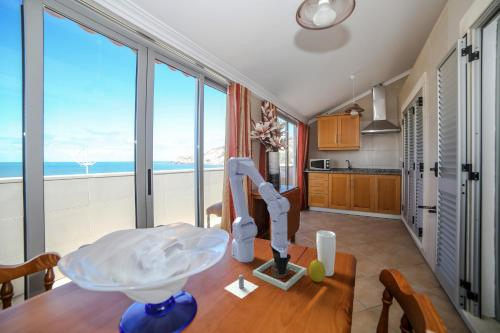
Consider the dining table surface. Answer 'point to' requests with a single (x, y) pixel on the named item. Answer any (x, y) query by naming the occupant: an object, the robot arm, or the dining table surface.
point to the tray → (276, 282)
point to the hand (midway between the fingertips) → (279, 268)
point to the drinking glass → (326, 250)
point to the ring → (276, 274)
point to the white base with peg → (241, 287)
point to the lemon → (317, 271)
